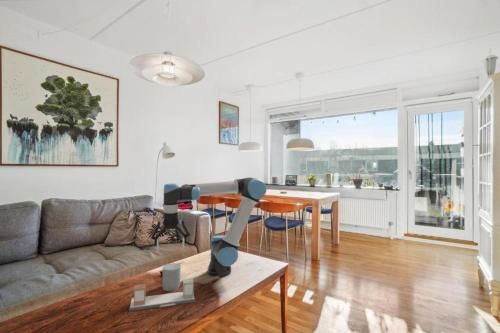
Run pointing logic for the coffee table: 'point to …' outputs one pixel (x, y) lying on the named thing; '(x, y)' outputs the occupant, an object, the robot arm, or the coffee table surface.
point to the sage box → (188, 288)
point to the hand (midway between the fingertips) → (170, 250)
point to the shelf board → (161, 301)
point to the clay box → (139, 294)
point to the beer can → (171, 277)
